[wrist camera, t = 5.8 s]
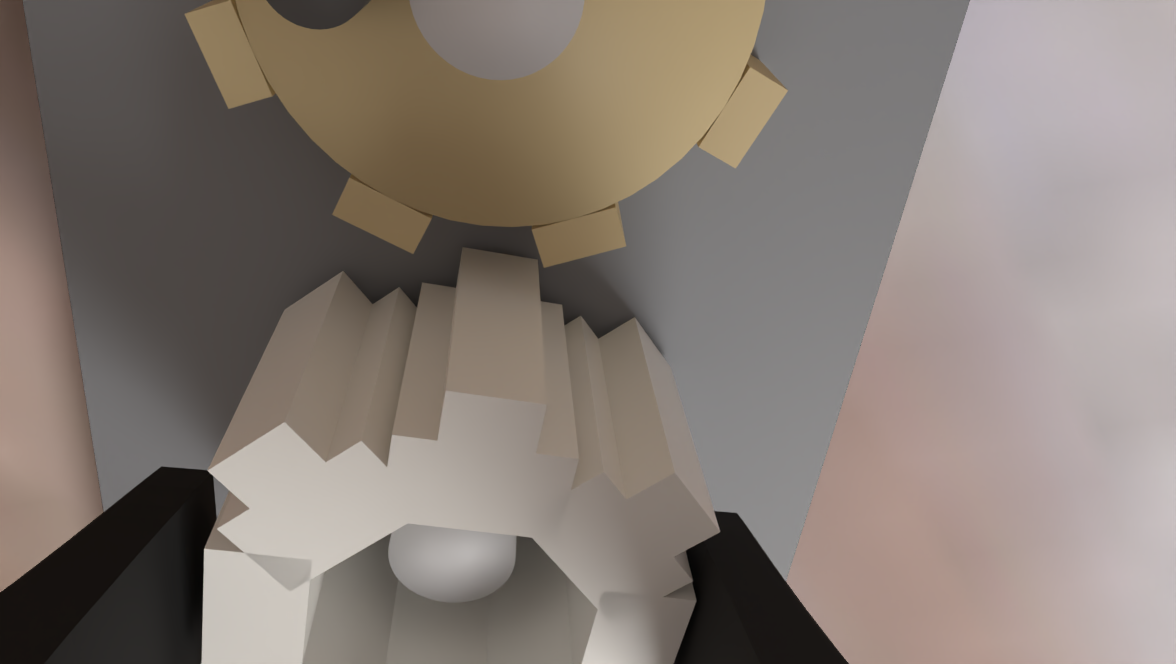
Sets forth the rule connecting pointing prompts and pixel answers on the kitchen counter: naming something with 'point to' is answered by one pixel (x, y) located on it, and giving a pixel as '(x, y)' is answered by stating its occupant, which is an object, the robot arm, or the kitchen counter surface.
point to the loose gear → (454, 482)
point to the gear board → (682, 274)
